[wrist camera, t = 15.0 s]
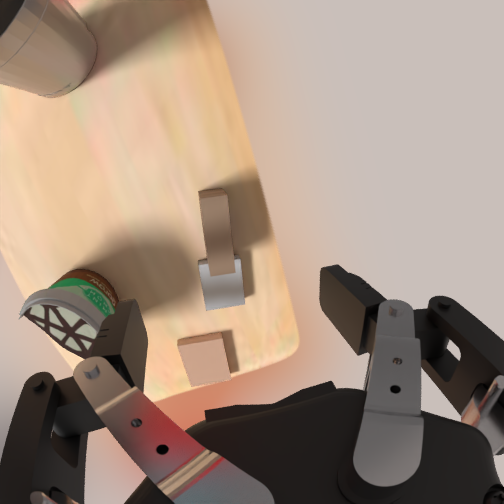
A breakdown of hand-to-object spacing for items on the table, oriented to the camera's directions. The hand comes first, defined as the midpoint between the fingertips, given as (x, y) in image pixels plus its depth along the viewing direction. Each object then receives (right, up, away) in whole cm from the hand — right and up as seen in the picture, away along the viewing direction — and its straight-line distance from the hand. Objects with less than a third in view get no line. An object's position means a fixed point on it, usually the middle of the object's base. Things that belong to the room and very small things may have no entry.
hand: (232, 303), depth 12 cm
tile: (-6, -9, +25) cm, 27 cm away
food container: (-18, -2, +20) cm, 27 cm away
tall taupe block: (-3, +2, +22) cm, 22 cm away
